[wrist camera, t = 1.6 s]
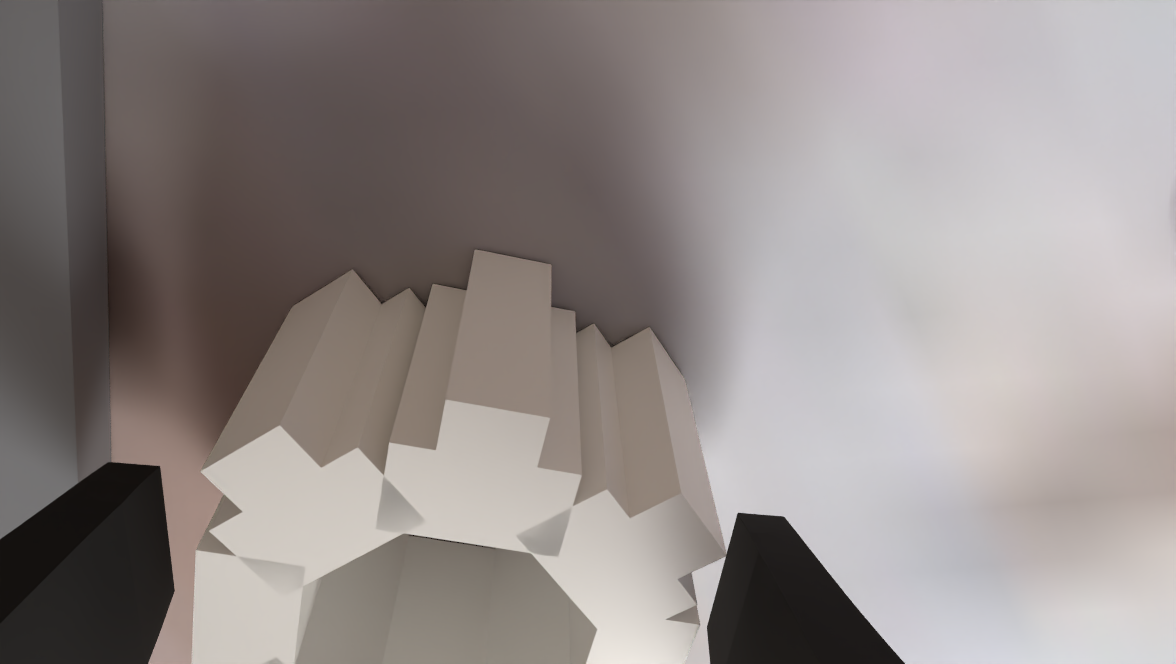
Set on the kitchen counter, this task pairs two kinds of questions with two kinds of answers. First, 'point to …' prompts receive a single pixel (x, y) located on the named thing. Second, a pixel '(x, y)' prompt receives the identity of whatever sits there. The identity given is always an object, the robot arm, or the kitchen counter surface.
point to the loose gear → (455, 487)
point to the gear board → (52, 253)
